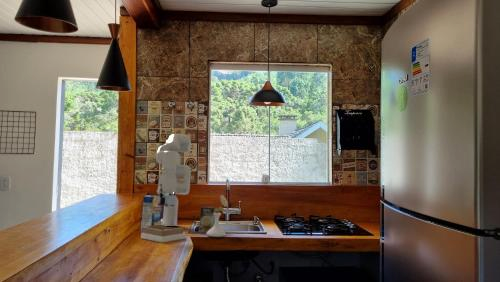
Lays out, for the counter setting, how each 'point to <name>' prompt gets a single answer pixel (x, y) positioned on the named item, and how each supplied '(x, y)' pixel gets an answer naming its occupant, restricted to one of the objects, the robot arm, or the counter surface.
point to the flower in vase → (216, 230)
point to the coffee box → (206, 219)
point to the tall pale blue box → (167, 200)
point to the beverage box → (151, 212)
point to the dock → (162, 233)
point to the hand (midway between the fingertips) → (166, 204)
